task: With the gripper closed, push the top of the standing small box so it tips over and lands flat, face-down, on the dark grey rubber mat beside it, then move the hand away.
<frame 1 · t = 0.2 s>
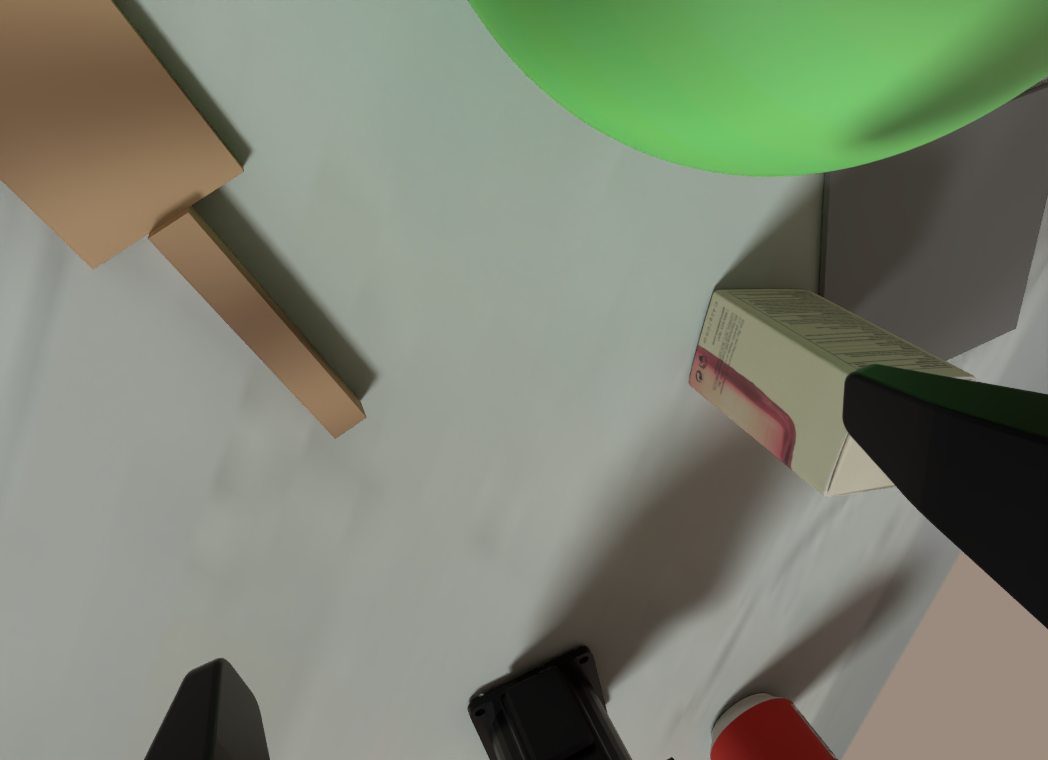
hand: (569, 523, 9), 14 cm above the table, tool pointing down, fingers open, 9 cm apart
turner: (209, 259, 19), on the table
mat: (931, 258, 30), on the table
beverage can: (740, 716, 45), on the table
small box: (744, 333, 29), on the table
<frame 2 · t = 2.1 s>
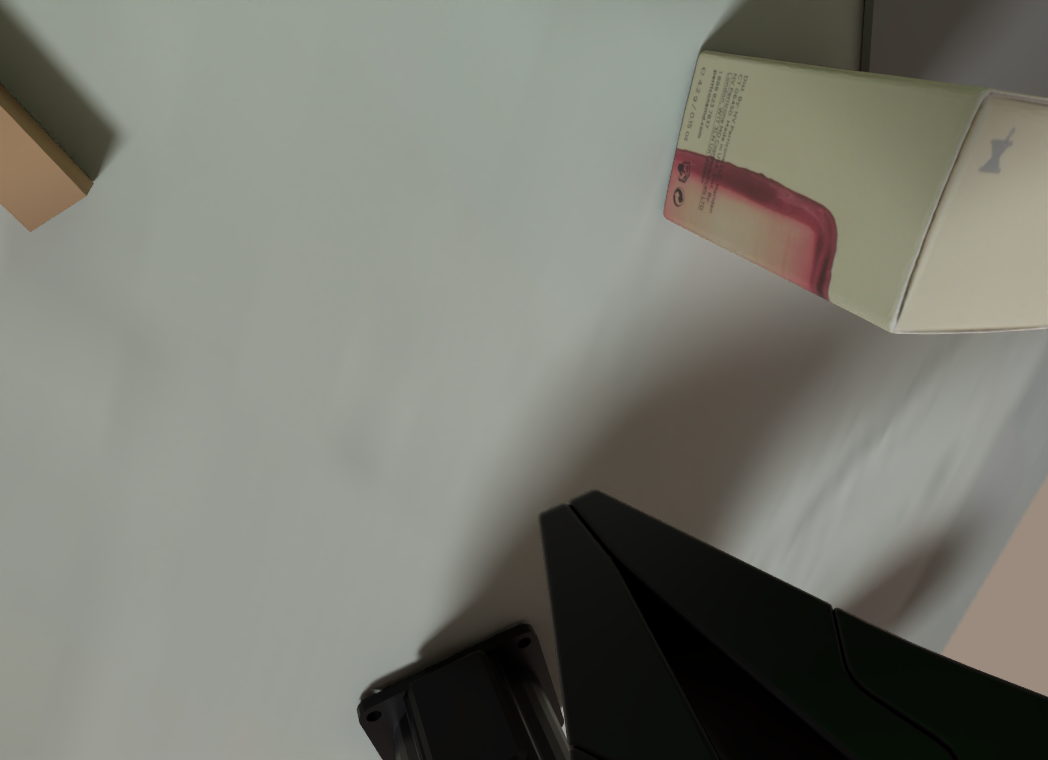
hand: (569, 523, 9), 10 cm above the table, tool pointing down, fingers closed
mat: (1021, 49, 21), on the table
small box: (747, 143, 19), on the table
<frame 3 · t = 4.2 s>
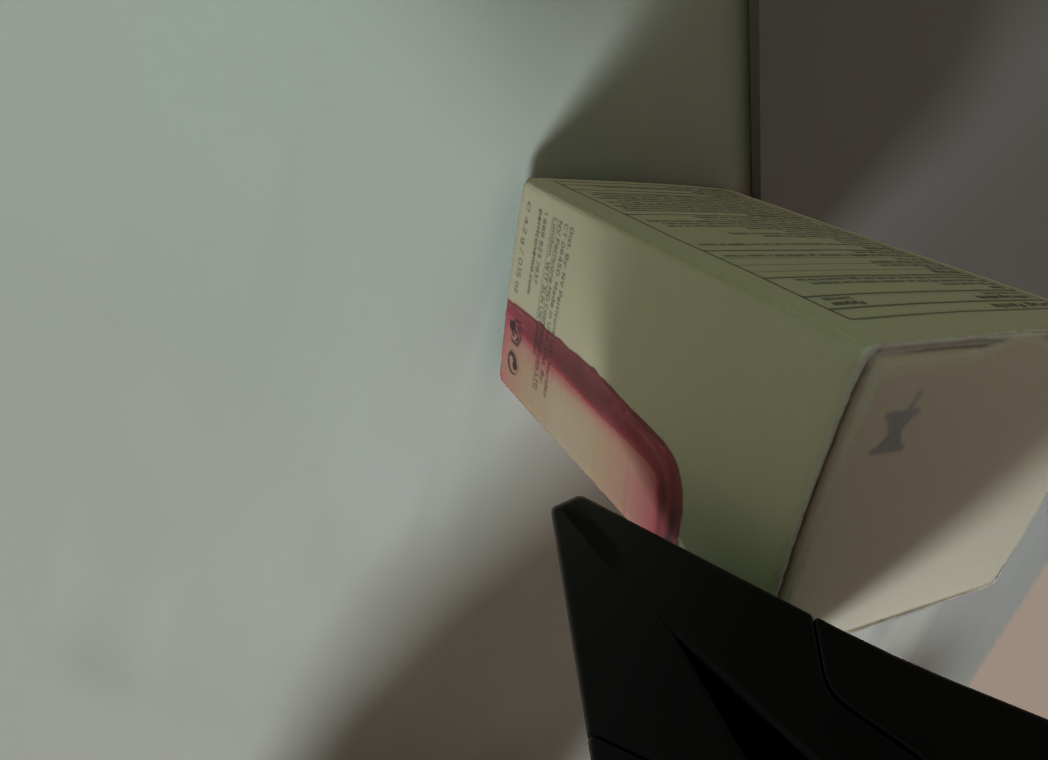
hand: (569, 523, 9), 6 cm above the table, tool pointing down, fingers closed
mat: (968, 149, 17), on the table
small box: (609, 278, 15), on the table, touching gripper
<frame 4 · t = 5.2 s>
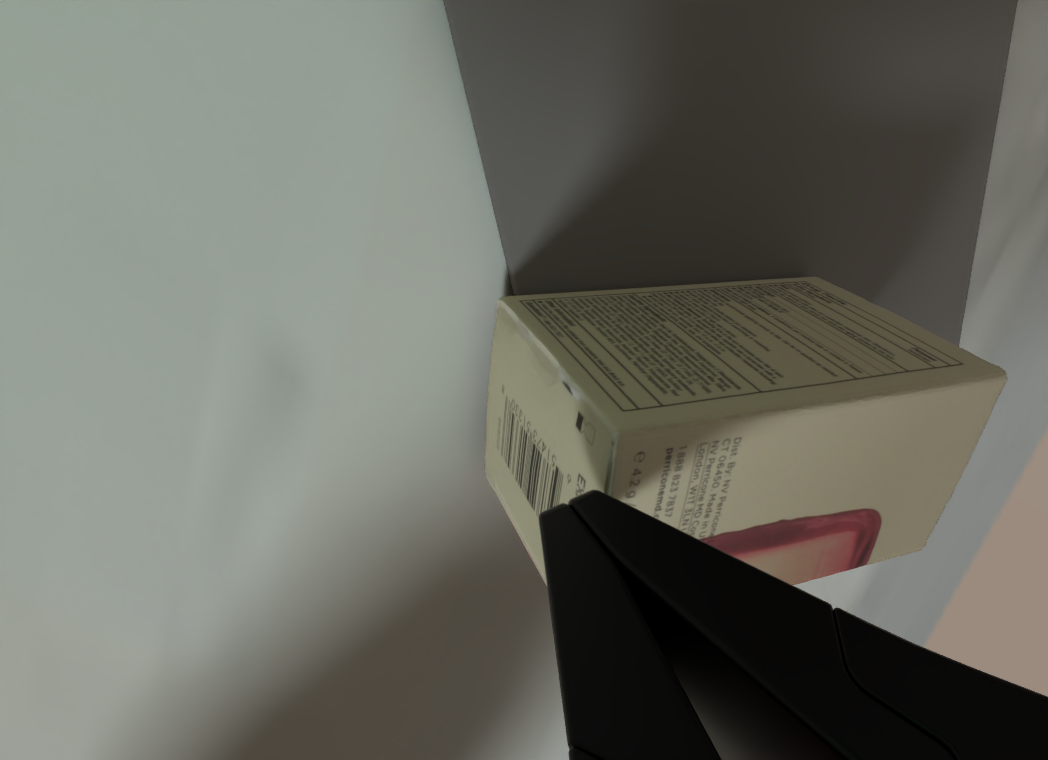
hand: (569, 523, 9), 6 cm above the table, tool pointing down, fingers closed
mat: (769, 227, 15), on the table
small box: (516, 457, 12), point 3 cm above the table, touching mat
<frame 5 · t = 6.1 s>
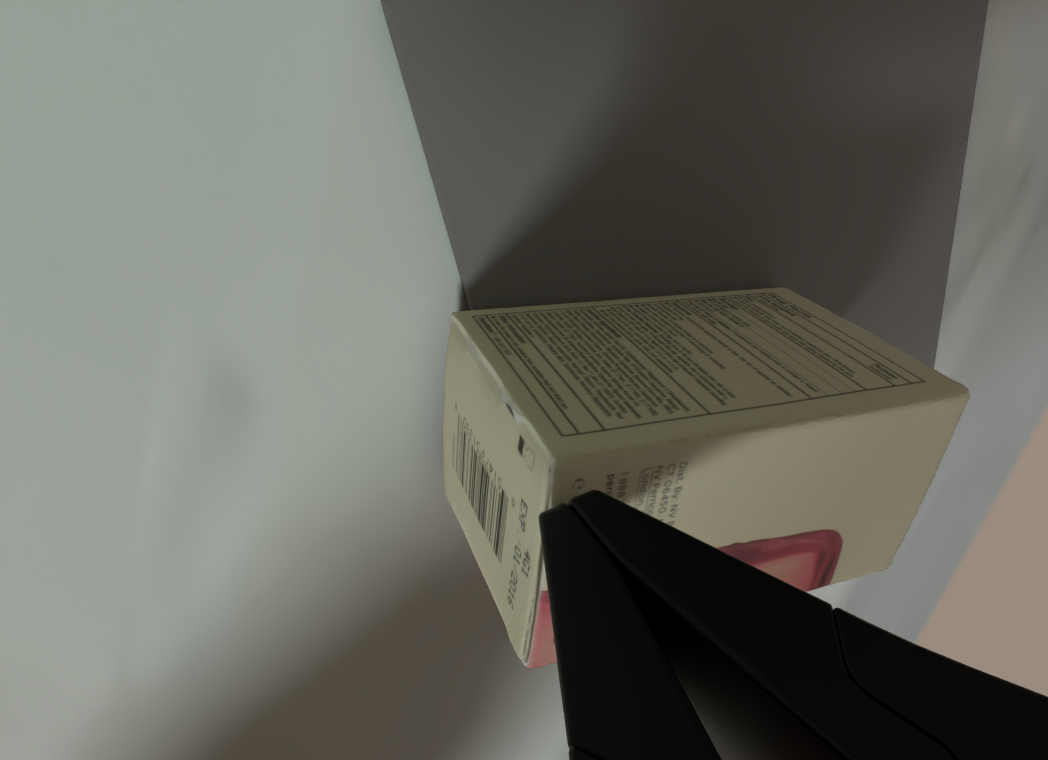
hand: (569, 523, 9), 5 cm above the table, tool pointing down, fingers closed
mat: (734, 237, 15), on the table
small box: (466, 478, 12), point 3 cm above the table, touching mat
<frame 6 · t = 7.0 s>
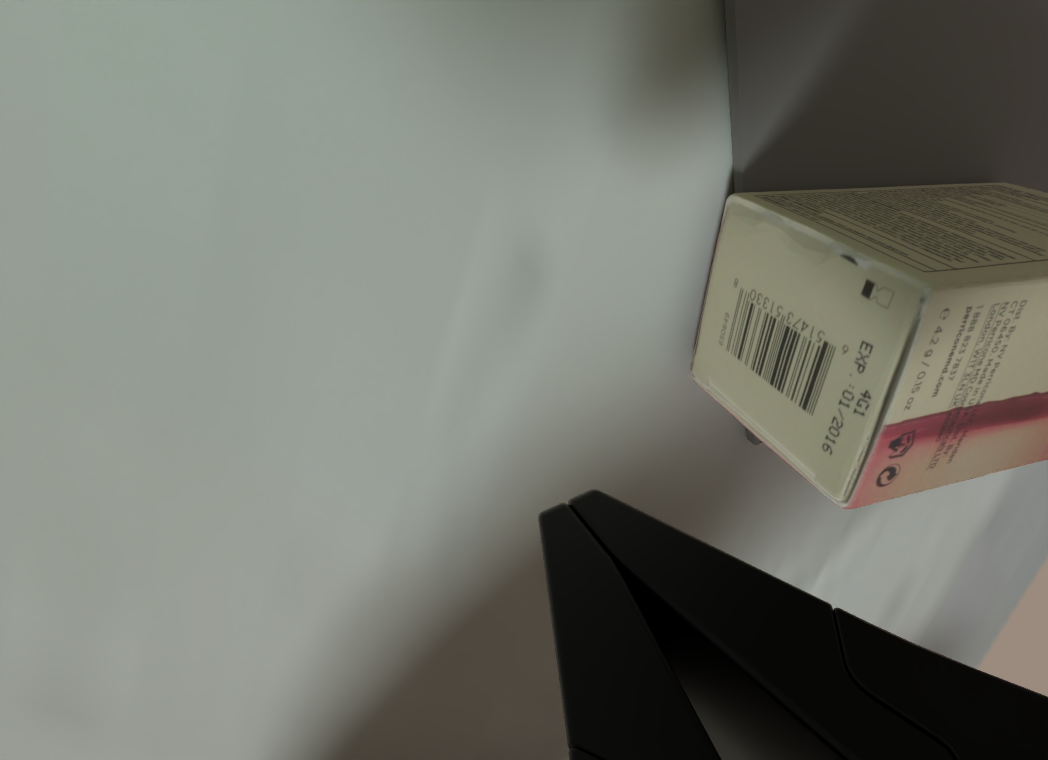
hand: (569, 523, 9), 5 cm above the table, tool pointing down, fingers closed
mat: (963, 132, 16), on the table
small box: (766, 341, 13), point 3 cm above the table, touching mat
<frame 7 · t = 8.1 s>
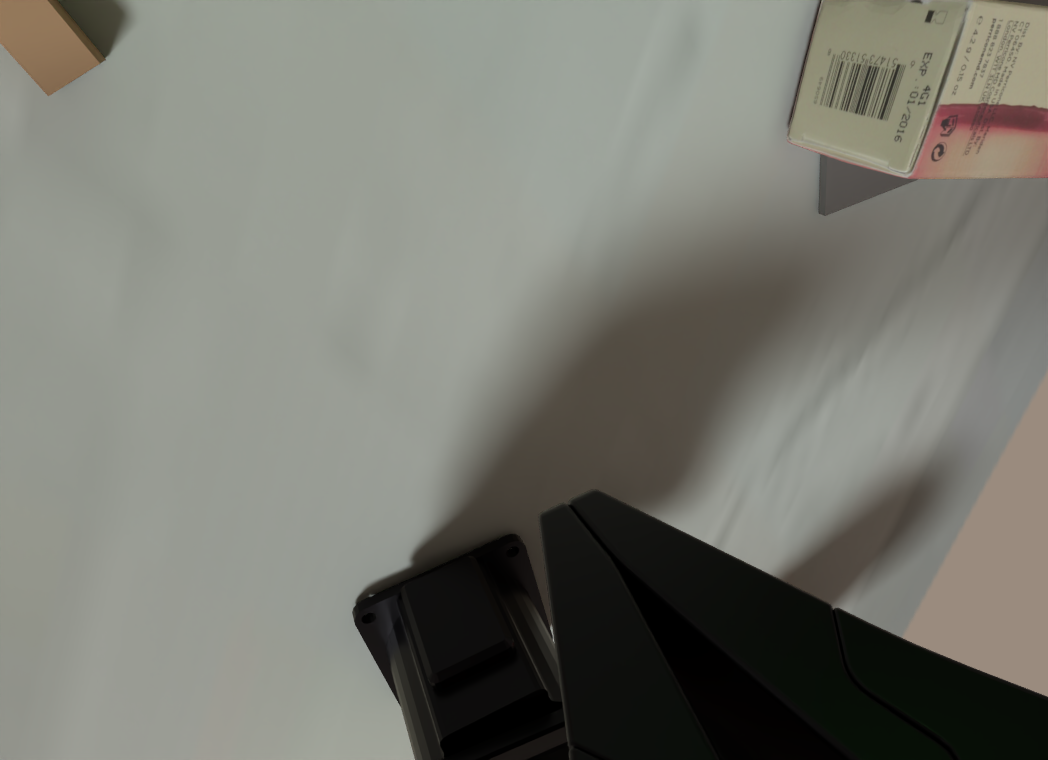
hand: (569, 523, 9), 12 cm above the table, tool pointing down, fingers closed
small box: (855, 79, 19), point 3 cm above the table, touching mat
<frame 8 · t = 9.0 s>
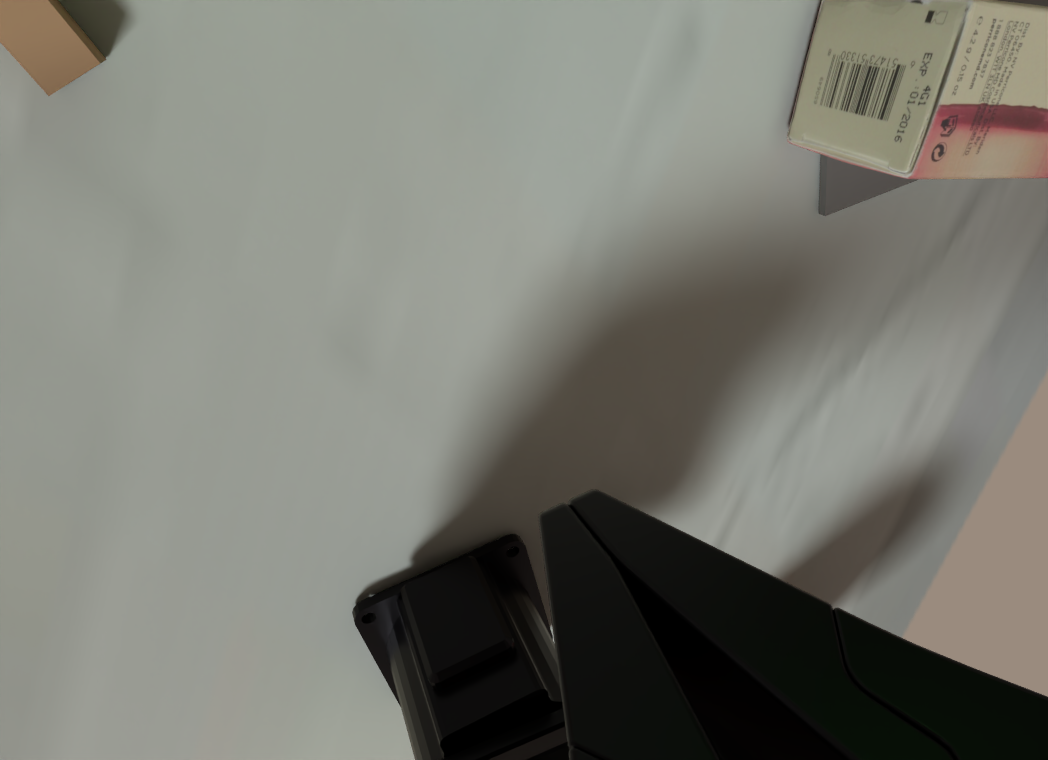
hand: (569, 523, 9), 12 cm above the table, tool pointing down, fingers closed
small box: (855, 79, 19), point 3 cm above the table, touching mat
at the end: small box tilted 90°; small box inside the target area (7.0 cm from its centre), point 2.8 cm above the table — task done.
